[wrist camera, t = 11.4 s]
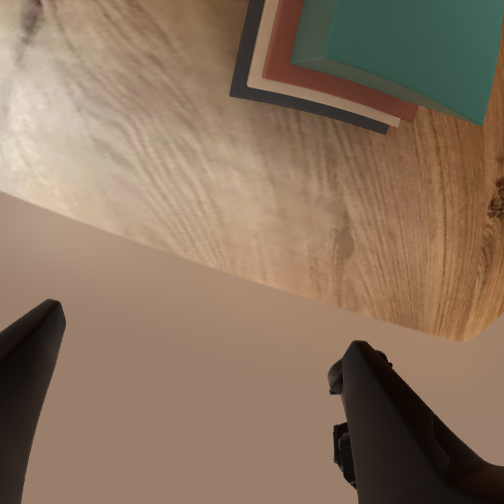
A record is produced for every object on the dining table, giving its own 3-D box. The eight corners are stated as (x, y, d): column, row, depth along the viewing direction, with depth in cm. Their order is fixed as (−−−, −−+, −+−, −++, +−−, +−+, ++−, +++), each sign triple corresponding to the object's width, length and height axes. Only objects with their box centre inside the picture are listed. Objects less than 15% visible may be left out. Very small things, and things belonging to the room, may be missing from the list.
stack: (369, 127, 18) (426, 158, 12) (230, 93, 16) (224, 104, 10) (398, 7, 13) (463, -8, 7) (259, -36, 12) (270, -86, 6)
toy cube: (404, 101, 10) (482, 127, 6) (288, 64, 10) (323, 57, 5) (425, 3, 8) (505, -9, 3) (313, -43, 7) (355, -97, 3)
